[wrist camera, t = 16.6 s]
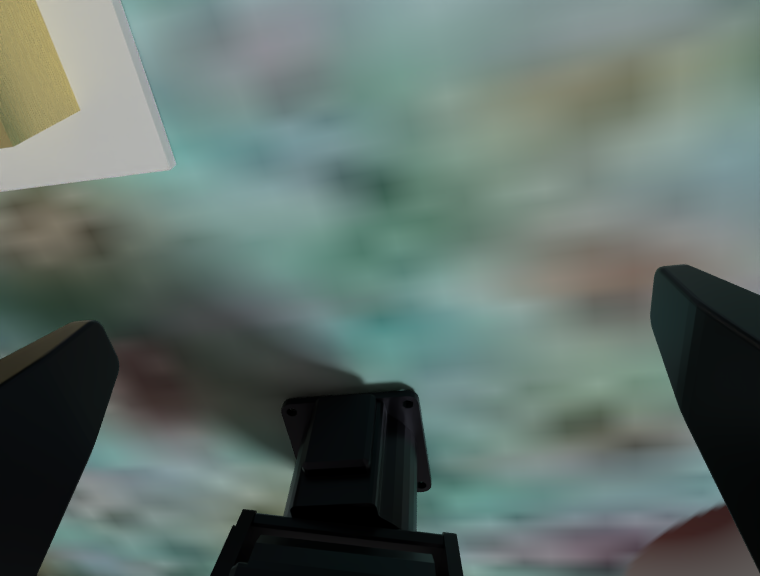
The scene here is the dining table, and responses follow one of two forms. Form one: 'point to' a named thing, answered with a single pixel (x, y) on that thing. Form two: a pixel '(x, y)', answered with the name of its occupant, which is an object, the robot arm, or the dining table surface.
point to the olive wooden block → (29, 75)
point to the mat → (93, 105)
